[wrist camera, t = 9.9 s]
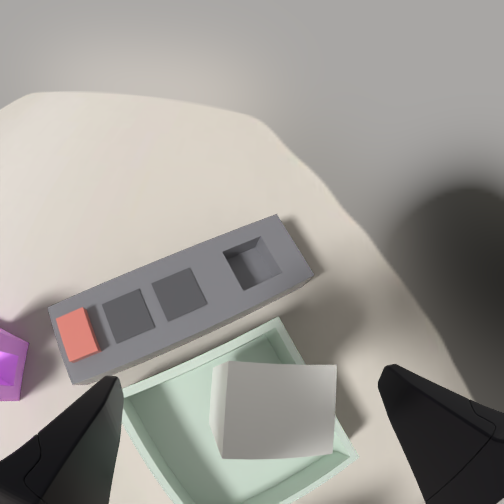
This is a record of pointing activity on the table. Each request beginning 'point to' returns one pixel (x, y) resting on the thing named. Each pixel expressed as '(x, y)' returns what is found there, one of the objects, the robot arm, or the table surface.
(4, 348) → the bracket
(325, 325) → the table surface
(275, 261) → the power strip
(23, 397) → the table surface
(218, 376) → the white long block
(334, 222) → the table surface
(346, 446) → the tray
